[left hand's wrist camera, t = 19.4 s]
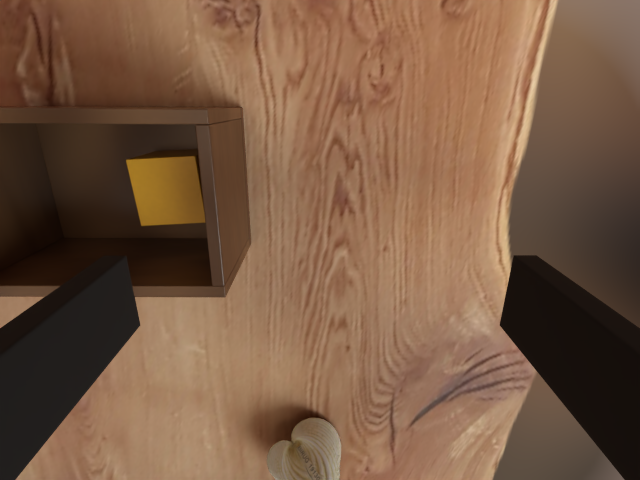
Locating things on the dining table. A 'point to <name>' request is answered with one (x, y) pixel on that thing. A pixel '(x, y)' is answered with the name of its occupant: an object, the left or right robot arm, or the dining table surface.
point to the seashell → (307, 453)
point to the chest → (117, 198)
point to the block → (167, 187)
